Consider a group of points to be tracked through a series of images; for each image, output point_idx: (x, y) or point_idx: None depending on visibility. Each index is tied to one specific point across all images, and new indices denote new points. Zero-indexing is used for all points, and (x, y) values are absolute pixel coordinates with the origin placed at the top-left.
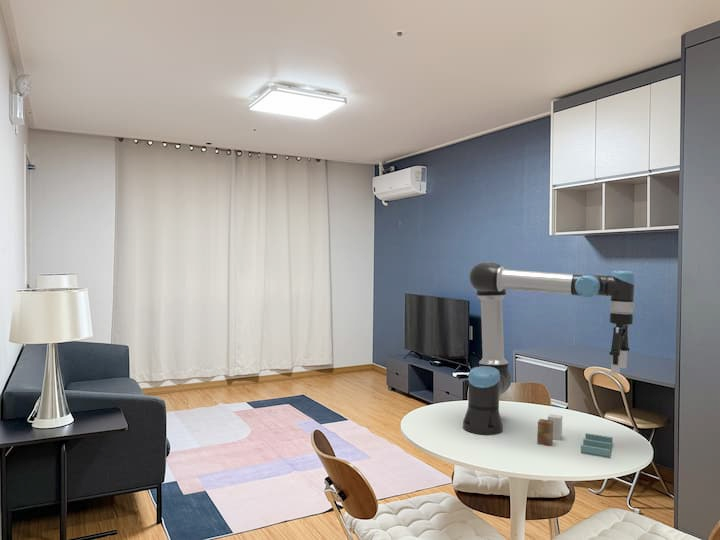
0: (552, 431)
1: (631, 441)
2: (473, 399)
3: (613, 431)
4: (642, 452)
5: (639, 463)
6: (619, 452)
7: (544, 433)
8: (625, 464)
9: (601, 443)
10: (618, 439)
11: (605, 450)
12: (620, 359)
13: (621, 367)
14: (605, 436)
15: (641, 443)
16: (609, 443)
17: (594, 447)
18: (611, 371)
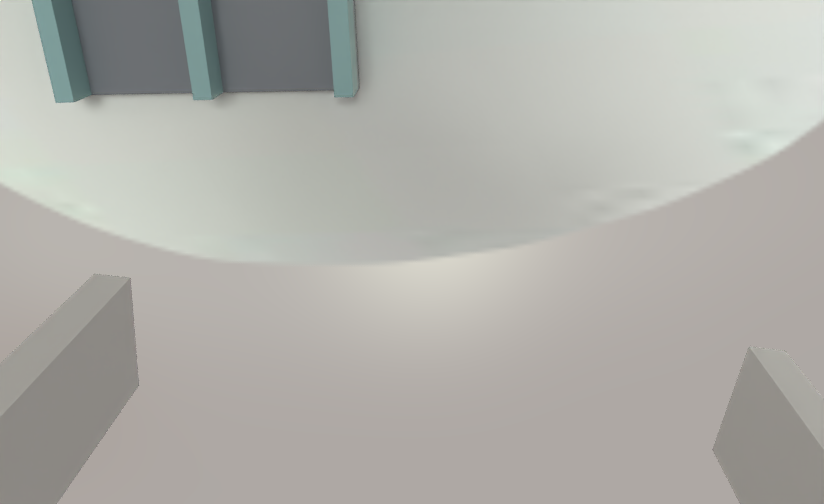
0: None
1: (511, 186)
2: None
3: (698, 68)
4: (324, 246)
5: (122, 236)
6: (239, 135)
7: None
8: (52, 175)
9: (186, 38)
10: (512, 112)
11: (53, 76)
12: (807, 480)
13: (734, 397)
14: (344, 50)
15: (501, 238)
16: (197, 89)
17: (41, 8)
18: (83, 292)
